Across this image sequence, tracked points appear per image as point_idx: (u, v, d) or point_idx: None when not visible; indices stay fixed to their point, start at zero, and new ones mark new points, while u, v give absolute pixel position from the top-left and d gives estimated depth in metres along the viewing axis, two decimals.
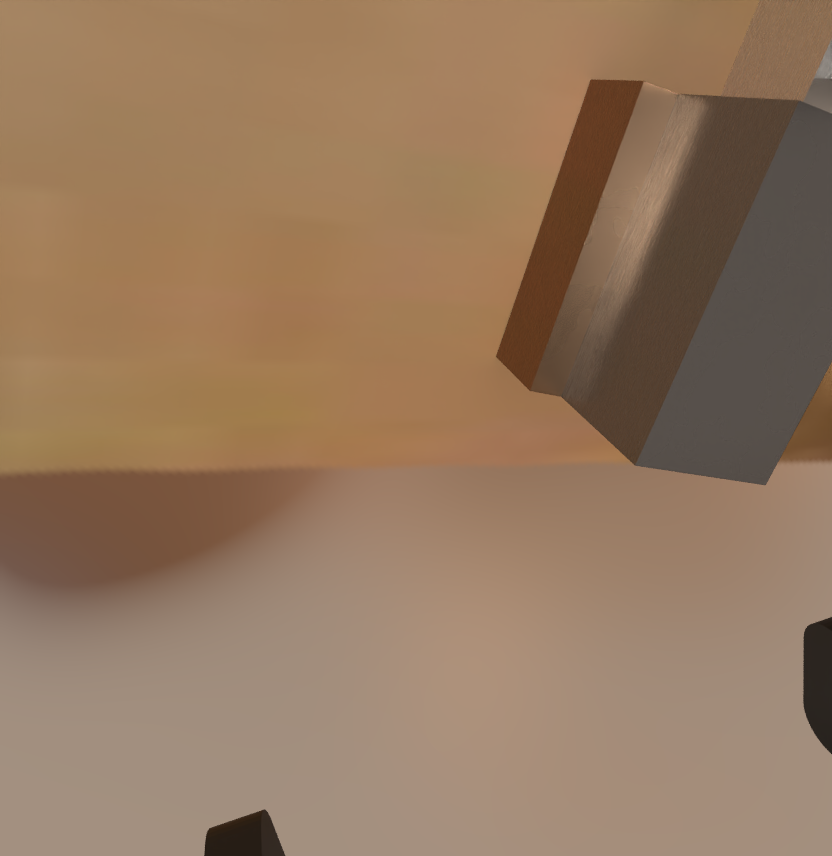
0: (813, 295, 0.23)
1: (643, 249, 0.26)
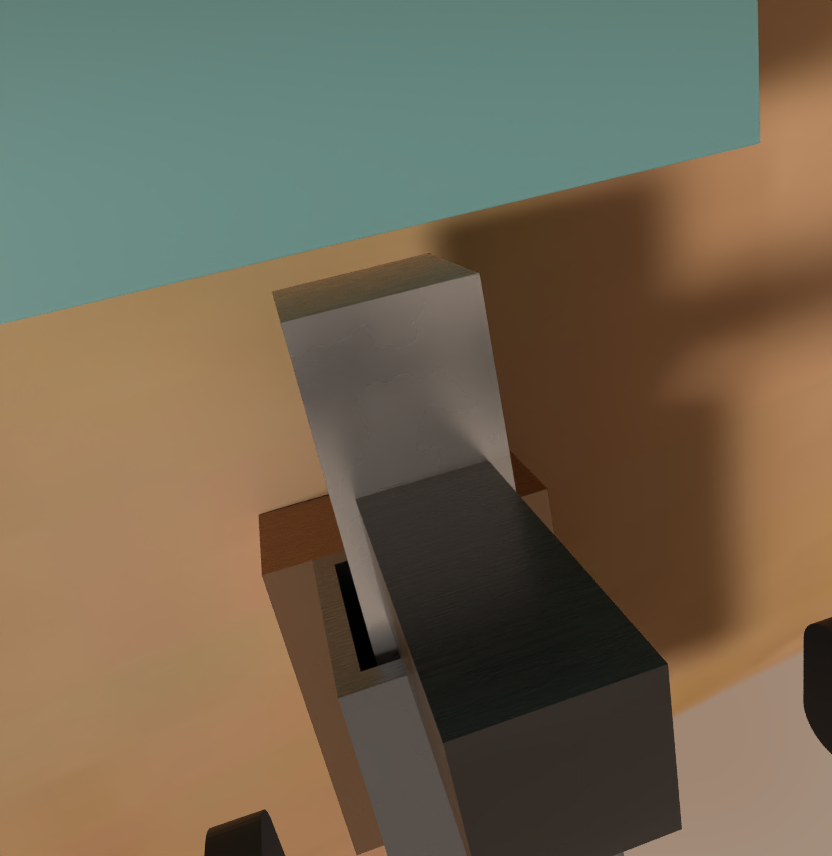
0: None
1: None
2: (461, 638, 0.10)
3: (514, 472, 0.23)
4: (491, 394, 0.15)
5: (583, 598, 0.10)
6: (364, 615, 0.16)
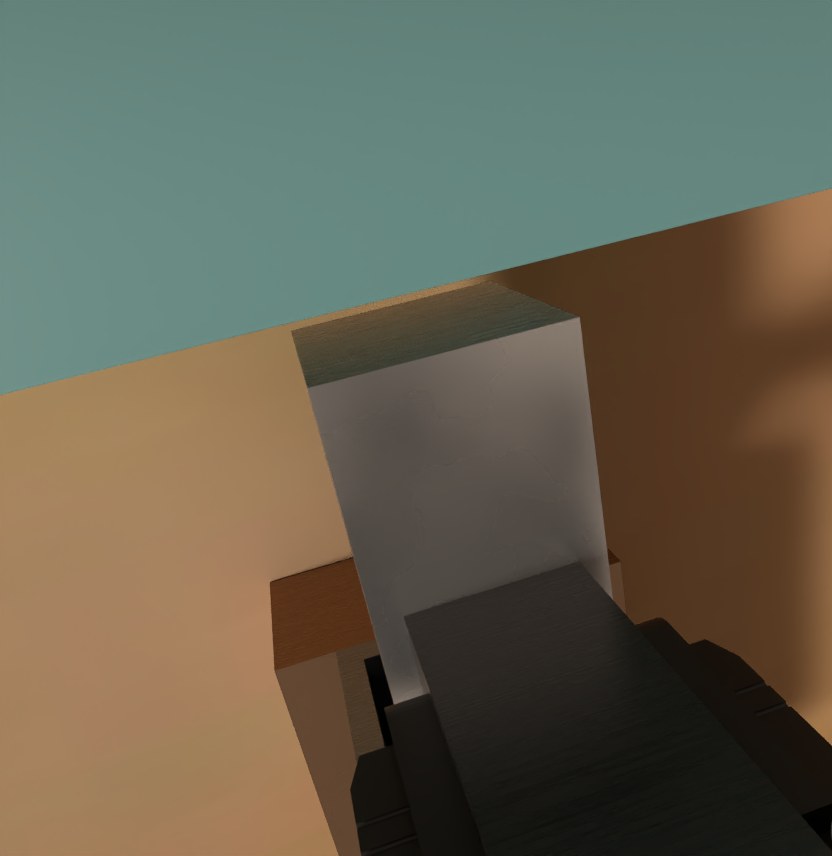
0: None
1: None
2: None
3: None
4: (588, 477, 0.11)
5: (793, 855, 0.07)
6: None
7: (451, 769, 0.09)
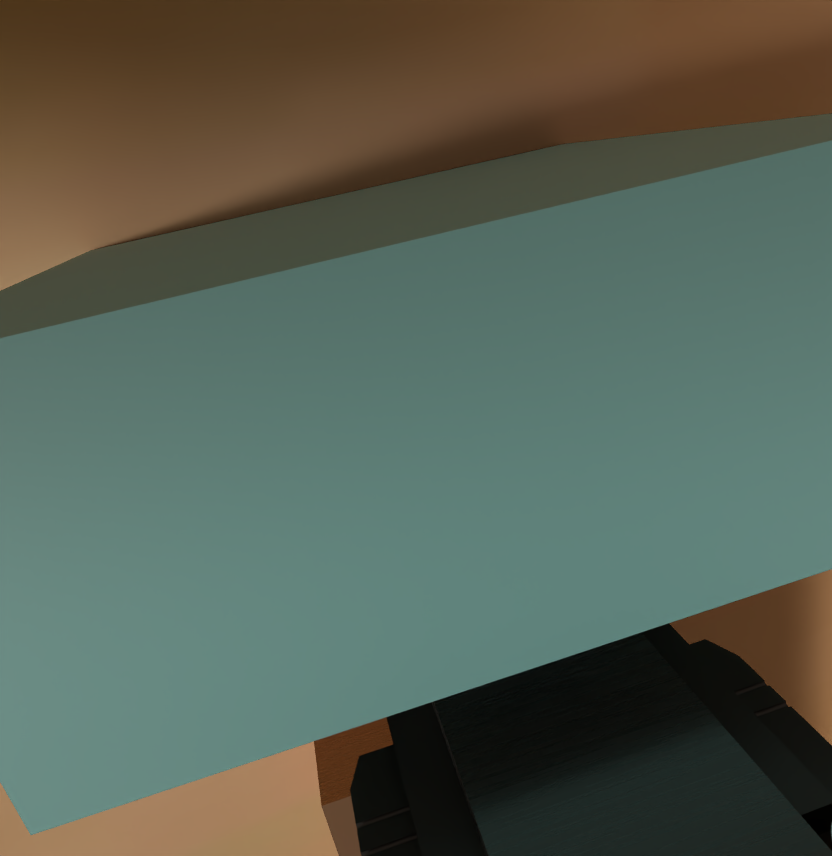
0: None
1: None
2: None
3: None
4: None
5: (793, 855, 0.07)
6: None
7: (451, 769, 0.09)
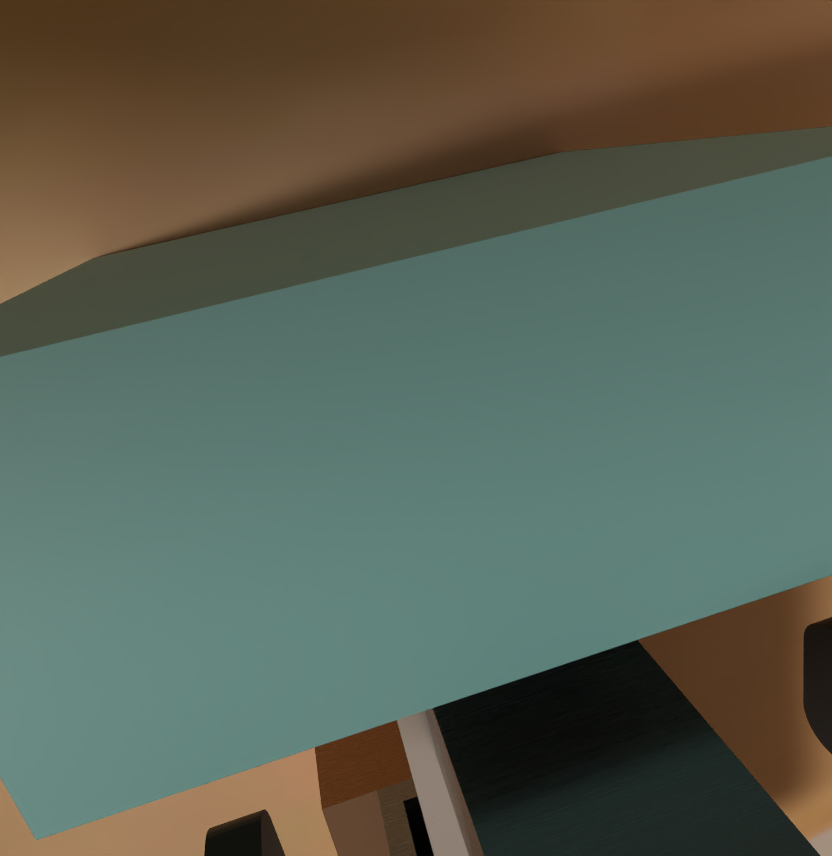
0: None
1: None
2: None
3: None
4: None
5: None
6: (410, 765, 0.12)
7: None
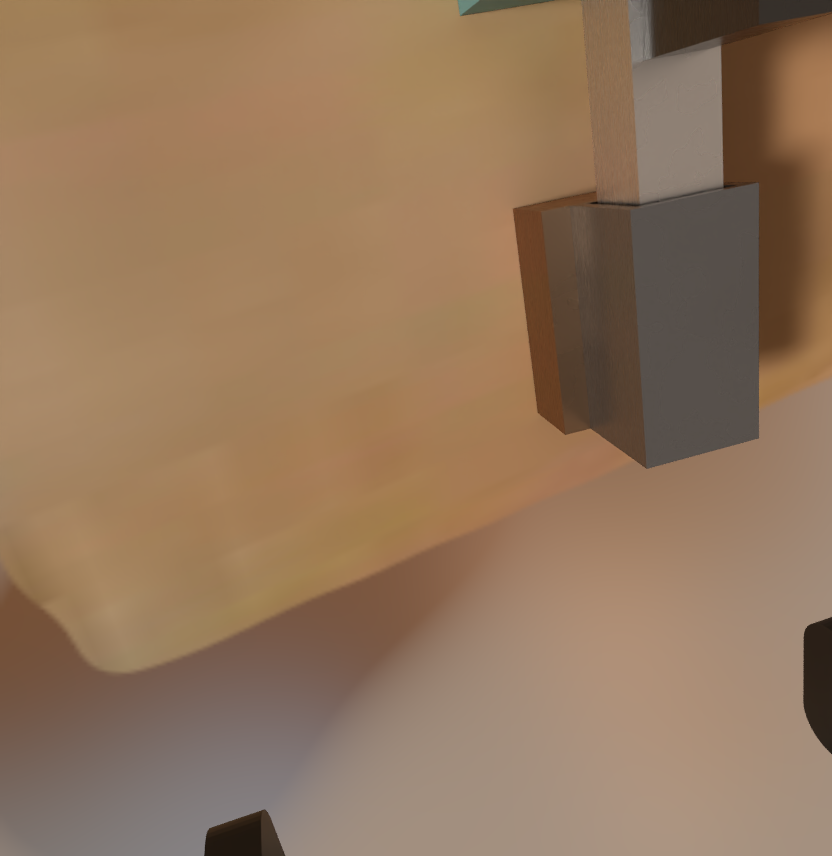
0: (715, 307, 0.32)
1: (593, 316, 0.35)
2: None
3: None
4: None
5: None
6: (631, 59, 0.28)
7: None
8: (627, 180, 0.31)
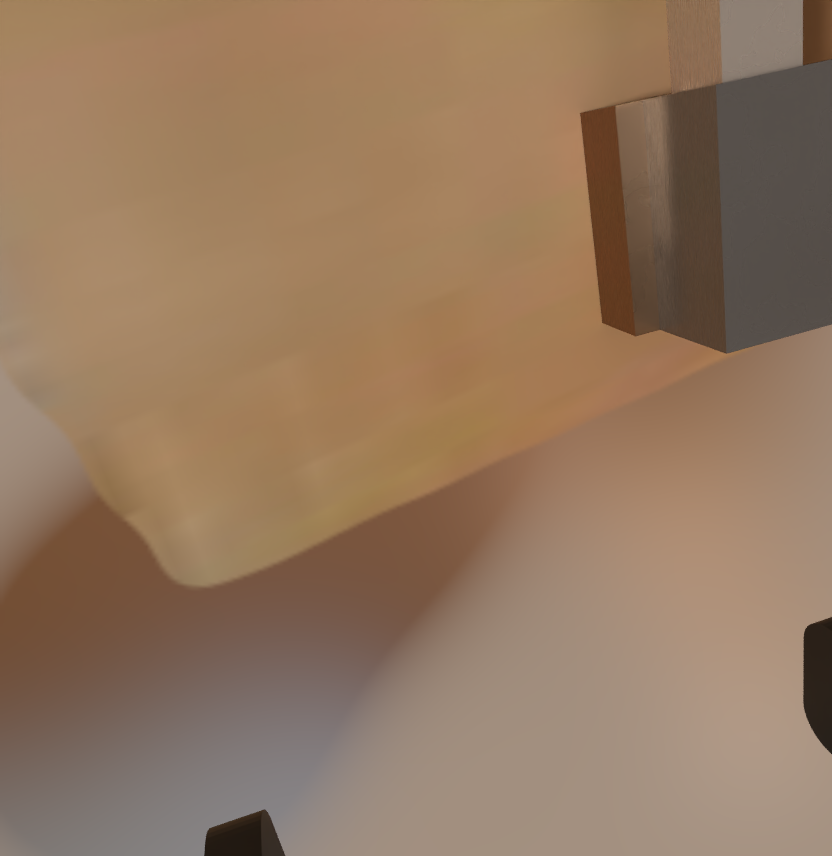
0: (795, 186, 0.32)
1: (667, 209, 0.36)
2: None
3: None
4: None
5: None
6: None
7: None
8: (708, 62, 0.31)
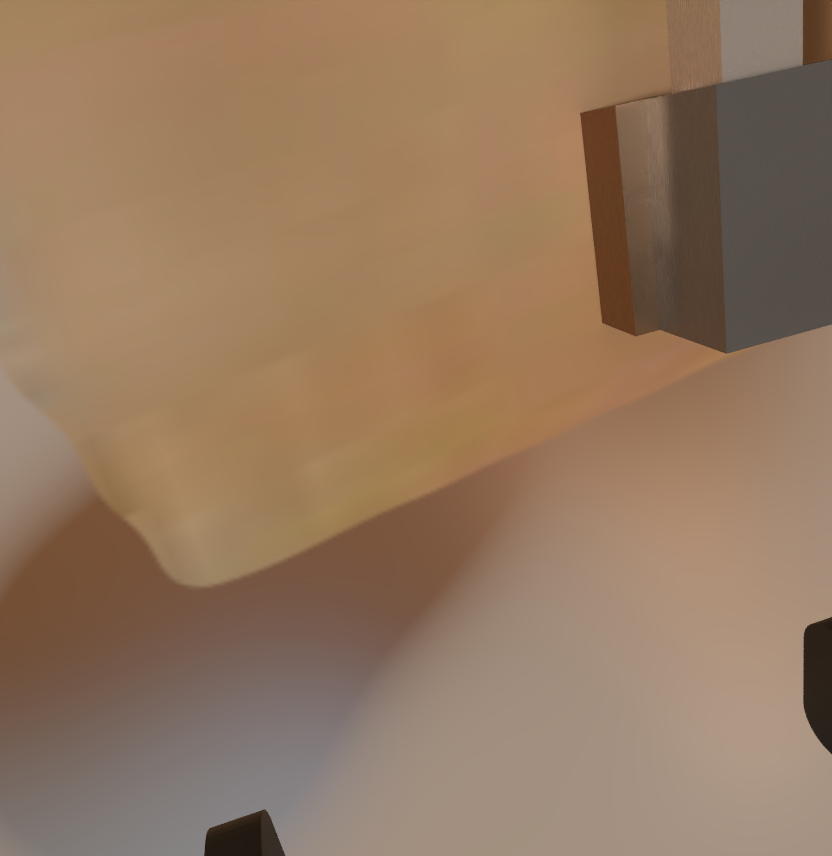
0: (795, 186, 0.32)
1: (667, 209, 0.36)
2: None
3: None
4: None
5: None
6: None
7: None
8: (708, 62, 0.31)
